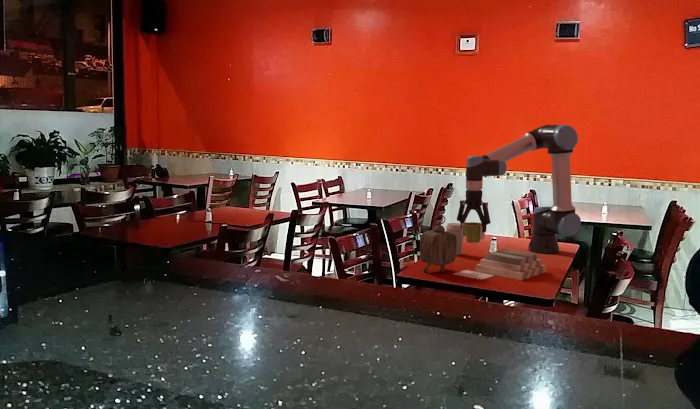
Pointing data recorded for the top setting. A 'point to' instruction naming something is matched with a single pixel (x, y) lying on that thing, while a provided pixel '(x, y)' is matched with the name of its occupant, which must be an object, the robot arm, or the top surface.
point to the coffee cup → (458, 232)
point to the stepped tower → (511, 264)
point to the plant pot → (472, 232)
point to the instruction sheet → (473, 274)
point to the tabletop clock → (438, 246)
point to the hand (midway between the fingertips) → (472, 237)
